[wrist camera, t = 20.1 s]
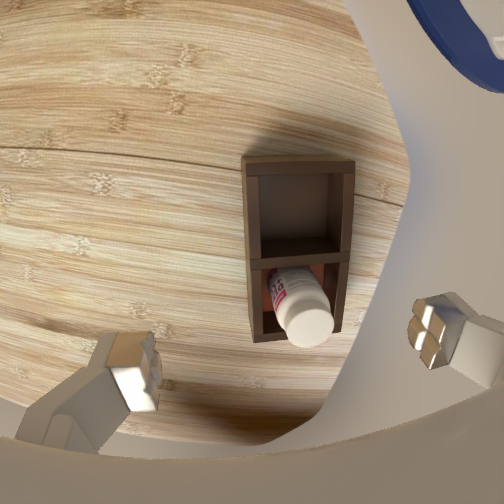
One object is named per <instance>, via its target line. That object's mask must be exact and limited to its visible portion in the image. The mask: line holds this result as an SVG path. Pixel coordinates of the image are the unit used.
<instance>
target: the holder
mask: <svg viewBox="0 0 504 504" xmlns="http://www.w3.org/2000/svg"><path fill="white" fill-rule="evenodd" d="M241 172H242V193H243V214H244V234H245V254H246V273H247V293H248V312H249V321H250V327H251V332H252V338H253V343H259V342H269V341H278V340H286V339H288V337H287V334H286V332H285V330H284V329H283V328H282V327H281V326H280V324H279V322H278V320H277V317H276V313H275V310H274V307H273V303H272V300H271V296H270V293H269V289H268V277H269V274H270V272H271V271H272V269H273V268H281V267H293V266H304V265H308V266H309V267H310V269H311V270H312V272H313V274H314V276H315V278H316V279H317V281H318V283H319V285H320V286H321V288H322V290H323V291H324V293H325V295H326V296H327V298H328V300H329V303H330V312H331V314H332V317H333V319H334V329H333V331H332V333H338V332H341V327H342V320H343V312H344V305H345V296H346V288H347V279H348V269H349V260H350V249H351V236H352V223H353V207H354V186H355V161H353V160H350V159H347V158H344V157H341V156H338V155H274V156H250V157H241Z"/></svg>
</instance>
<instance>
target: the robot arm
mask: <svg viewBox="0 0 504 504" xmlns="http://www.w3.org/2000/svg"><path fill="white" fill-rule="evenodd" d="M460 2H461V3H462V5H463V7H464V9H465V10H466V12H467V13H468V15H469V16H470V18H471V19H472V20H473V22H474V23H475V24H476V25H477V26H478V28H479V29H480V30H481V31H482V33H483V34H484V35H485V37H486V39H487V41H488V43H489V45H490V47H491V49H492V51H493V53H494V55H495V56H496V57H497V58H498V59H500V60H504V0H460ZM412 312H413V314H414V317H413V318H412V319H411V320H410V322H409V325H408V330H407V331H408V339H409V342H410V344H411V345H412V347H413V348H414V349H416V350H418V351H420V352H421V353H420V358H421V359H422V361H423V362H424V364H425V365H426V366H427V368H428V369H429V370H431V369H435V368H438V367H442V366H445V365H448V364H449V366H451V367H452V368H454V369H456V370H457V371H459V372H460V373H462V374H464V375H465V376H467V377H469V378H470V379H472V380H473V381H475V382H477V383H478V384H480V385H481V386H483V387H485V388H486V389H488V390H486V391H484V392H482V393H480V394H477V395H475V396H473V397H471V398H469V399H466V400H464V401H462V402H459V403H457V404H455V405H453V406H450V407H448V408H445V409H442V410H440V411H437V412H435V413H432V414H429V415H426V416H424V417H421V418H418V419H415V420H413V421H410V422H406V423H404V424H401V425H397V426H394V427H391V428H388V429H384V430H380V431H377V432H373V433H370V434H366V435H363V436H358V437H354V438H350V439H346V440H342V441H337V442H333V443H328V444H323V445H318V446H313V447H307V448H301V449H296V450H289V451H282V452H275V453H267V454H259V455H249V456H239V457H225V458H206V459H150V458H149V459H148V458H131V457H117V456H107V455H99V454H98V452H97V451H98V450H99V449H100V447H102V446H103V444H104V443H105V442H106V441H107V440H108V438H109V437H110V436H111V435H112V434H113V433H114V432H115V430H116V429H117V428H118V427H119V426H120V425H121V423H122V422H123V421H124V420H125V419H126V417H127V416H128V415H129V414H130V412H155V411H158V404H159V397H160V393H159V391H158V388H157V387H158V386H159V385H160V384H161V383H162V363H161V358H160V355H159V353H158V352H157V351H156V350H155V349H154V348H155V343H156V341H155V338H154V334H153V332H152V331H105V332H103V333H102V334H101V335H100V338H99V340H98V342H97V345H96V347H95V349H94V352H93V354H92V356H91V359H90V361H89V364H88V366H87V367H82V368H81V369H79V370H78V371H77V372H75V373H74V374H73V375H71V376H70V377H69V378H67V379H66V380H64V381H63V382H62V383H60V384H59V385H58V386H56V387H55V388H54V389H52V390H51V391H50V392H48V393H47V394H46V395H44V396H43V397H42V398H40V399H39V400H38V401H36V402H35V403H34V404H32V405H31V406H30V407H28V408H27V410H26V413H25V415H24V417H23V419H22V422H21V424H20V426H19V429H18V431H17V434H16V436H15V438H14V439H12V438H9V437H5V436H1V435H0V504H504V323H503V322H501V321H498V320H496V319H493V318H490V317H487V316H485V315H479V314H478V313H477V312H476V311H474V310H473V309H472V308H471V307H470V306H469V305H468V304H467V303H466V302H465V301H464V300H463V299H461V298H460V297H459V296H458V295H457V294H456V293H454V292H448V293H444V294H440V295H437V296H432V297H427V298H422V299H417V300H416V301H415V303H414V305H413V309H412Z"/></svg>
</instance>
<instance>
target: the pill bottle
mask: <svg viewBox="0 0 504 504" xmlns="http://www.w3.org/2000/svg"><path fill="white" fill-rule="evenodd" d="M268 289H269V293H270V296H271V300H272V303H273V307H274V310H275V313H276V317H277V320H278V322H279V324H280V326H281V327H282V328H283V329H284V330H285V332H286V334H287V337H288V339H289V341H290V342H291V343H292V344H294V345H295V346H298V347H302V348H310V347H314V346H317V345H319V344H321V343H323V342H324V341H325V340H326V339H327V338H328V337H329V336H330V335H331V333H332V331H333V329H334V319H333V317H332V314H331V312H330V303H329V300H328V298H327V296H326V295H325V293H324V291H323V290H322V288H321V286H320V285H319V283H318V281H317V279H316V278H315V276H314V274H313V272H312V270H311V269H310V267H309V266H308V265H304V266H293V267H281V268H273V269H272V271H271V272H270V274H269V277H268Z"/></svg>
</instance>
